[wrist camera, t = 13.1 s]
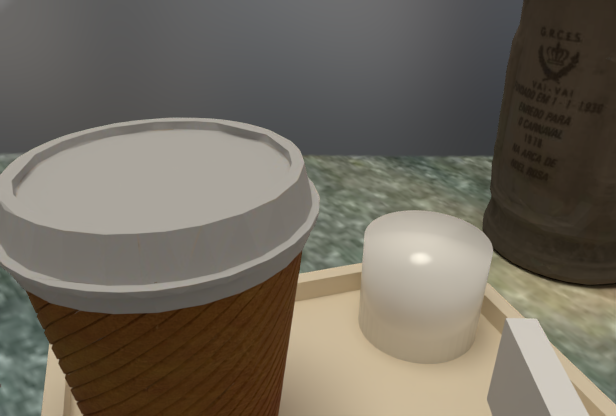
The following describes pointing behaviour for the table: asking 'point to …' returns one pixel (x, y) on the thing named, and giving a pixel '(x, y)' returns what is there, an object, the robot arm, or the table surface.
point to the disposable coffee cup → (162, 262)
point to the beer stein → (558, 144)
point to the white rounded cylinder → (423, 285)
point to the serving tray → (369, 363)
